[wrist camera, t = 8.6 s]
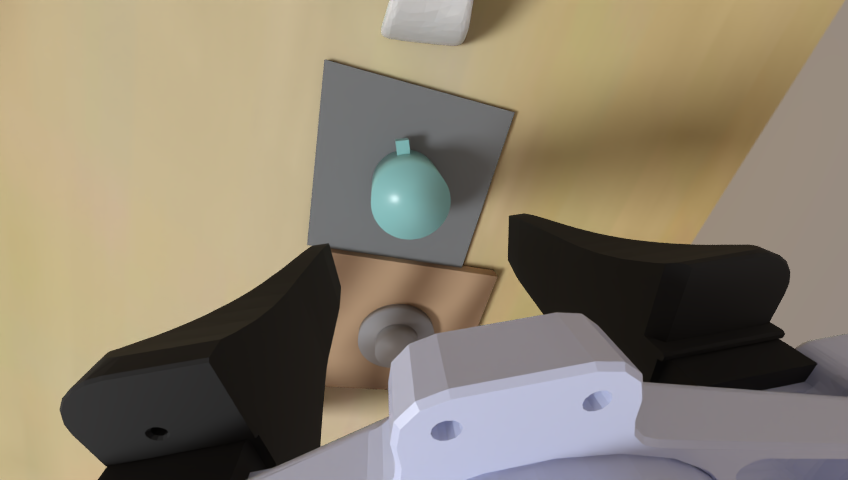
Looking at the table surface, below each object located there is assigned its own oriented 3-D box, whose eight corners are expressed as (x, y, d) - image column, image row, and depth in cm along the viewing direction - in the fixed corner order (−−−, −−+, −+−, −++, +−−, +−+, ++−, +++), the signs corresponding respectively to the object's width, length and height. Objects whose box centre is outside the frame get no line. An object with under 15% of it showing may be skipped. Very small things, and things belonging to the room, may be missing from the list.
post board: (493, 270, 26) (506, 291, 23) (448, 384, 31) (455, 411, 29) (322, 244, 23) (314, 265, 20) (307, 376, 28) (299, 405, 26)
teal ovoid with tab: (440, 220, 23) (452, 245, 19) (379, 228, 22) (379, 255, 19) (436, 133, 20) (448, 144, 16) (364, 140, 19) (361, 153, 16)
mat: (512, 112, 20) (514, 112, 20) (460, 265, 25) (461, 267, 25) (325, 60, 18) (324, 59, 17) (308, 242, 22) (307, 244, 22)
